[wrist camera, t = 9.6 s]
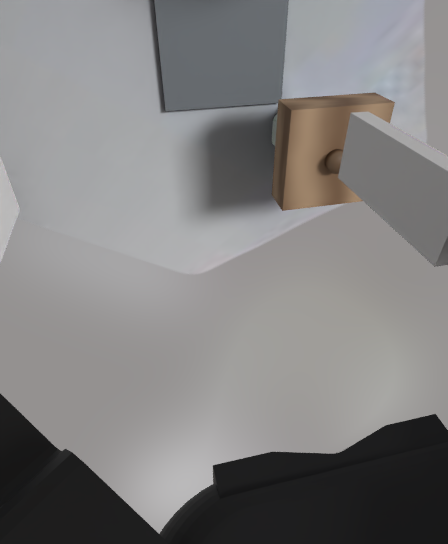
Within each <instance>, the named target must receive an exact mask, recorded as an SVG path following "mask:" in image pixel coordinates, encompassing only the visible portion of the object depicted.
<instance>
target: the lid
mask: <svg viewBox="0 0 448 544" xmlns="http://www.w3.org/2000/svg"><path fill="white" fill-rule="evenodd" d="M394 103H395V102H393V101H391V100H389V99H387V98H385V97H383V96H381V95H378V94H376V93H363V94H349V95H336V96H322V97H308V98H294V99H280V100H278V114H277V128H276V142H275V156H274V171H273V185H272V196H273V197H274V199H275V200H276V202H277V203H278V205H279V206H280V208H281V209H282V211H284V210H292V209H300V208H309V207H317V206H326V205H334V204H342V203H351V202H359V201H363V200H362V199H361V198H359V197H358V196H357V195H356V194H355V193H354V192H353V191H352V190H351V189H350V188H349V187H347V186H346V185H345V184H344V183H343V182H342V181H341V180H340V179H339V178H338V175H339V170H340V165H341V160H342V155H343V150H344V145H345V139H346V134H347V129H348V124H349V119H350V114H351V113H354V112H370V113H372V114H374V115H375V116H377V117H379V118H381V119H383V120H384V121H386V122H388V123H390V120H391V116H392V111H393V107H394Z"/></svg>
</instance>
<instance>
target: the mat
mask: <svg viewBox="0 0 448 544" xmlns="http://www.w3.org/2000/svg"><path fill="white" fill-rule="evenodd" d="M288 1H289V0H154V6H155V16H156V26H157V35H158V45H159V55H160V64H161V74H162V84H163V94H164V103H165V111H176V110H190V109H203V108H216V107H230V106H243V105H256V104H270V103H278V100H280V99H281V97H282V83H283V70H284V56H285V42H286V29H287V15H288Z"/></svg>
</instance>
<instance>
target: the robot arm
mask: <svg viewBox="0 0 448 544" xmlns="http://www.w3.org/2000/svg"><path fill="white" fill-rule="evenodd" d="M338 178H339V179H340V180H341V181H342V182H343V183H344V184H345V185H346V186H347V187H349V188H350V189H351V190H352V191H353V192H354V193H355V194H356V195H357V196H358V197H359V198H361V199H362V200H363V201H364V202H365V203H366V204H367V205H368V206H369V207H370V208H371V209H372V210H374V211H375V212H376V213H377V214H378V215H379V216H380V217H381V218H382V219H383V220H385V221H386V222H387V223H388V224H389V225H390V226H391V227H392V228H393V229H394V230H395V231H396V232H398V233H399V234H400V235H401V236H402V237H403V238H404V239H405V240H406V241H407V242H408V243H410V244H411V245H412V246H413V247H414V248H415V249H416V250H417V251H418V252H419V253H420V254H421V255H423V256H424V257H425V258H426V259H427V260H428V261H429V262H430V263H431V264H432V265H434V266H441V265H448V156H447V155H446V154H444V153H442V152H440V151H438V150H436V149H435V148H433V147H431V146H429V145H428V144H426V143H424V142H422V141H420V140H419V139H417V138H415V137H413V136H411V135H410V134H408V133H406V132H404V131H402V130H401V129H399V128H397V127H395V126H393V125H392V124H390V123H388V122H386V121H384V120H383V119H381V118H379V117H377V116H375V115H374V114H372V113H370V112H354V113H351V114H350V119H349V124H348V129H347V134H346V139H345V145H344V150H343V155H342V160H341V165H340V170H339V175H338ZM19 211H20V209H19V206H18V203H17V200H16V198H15V195H14V192H13V189H12V187H11V184H10V181H9V178H8V175H7V173H6V170H5V167H4V164H3V162H2V159H1V156H0V263H1V260H2V257H3V254H4V252H5V249H6V246H7V244H8V241H9V238H10V236H11V233H12V230H13V227H14V225H15V222H16V219H17V217H18V214H19ZM213 482H214V484H213V485H211V486H209V487H207V488H206V489H204V490H202V491H201V492H199V493H198V494H197V495H195V496H194V497H193V498H191V499H190V500H189V501H188V502H186V503H185V505H183V506H182V507H181V508H180V509H179V510H178V511H177V512H176V513H175V514H174V516H173V517H172V518H171V519H170V520H169V522H168V523H167V524H166V525H165V526H164V528H163V529H162V531H161V532H160V534H158V533H157V532H156V531H155V530H154V529H153V528H152V527H151V526H150V525H149V524H148V523H147V522H146V521H145V520H143V518H142V517H140V516H139V515H138V514H137V513H136V512H135V511H134V510H133V509H132V508H131V507H130V506H129V505H128V504H127V503H126V502H125V501H124V500H123V499H122V498H120V497H119V496H118V495H117V494H116V493H115V492H114V491H113V490H112V489H111V488H110V487H109V486H108V485H107V484H106V483H105V482H104V481H103V480H102V479H100V478H99V477H98V476H97V475H96V474H95V473H94V472H93V471H92V470H91V469H90V468H89V467H88V466H87V465H86V464H84V462H82V461H81V460H80V459H79V458H78V457H77V456H76V455H74V454H73V453H72V452H70V451H68V450H67V449H65V450H63V451H60V450H59V449H57V448H56V447H55V446H54V445H53V444H51V442H50V441H48V439H47V438H46V437H44V436H43V435H42V434H41V433H40V432H39V431H38V430H37V429H36V428H35V427H34V426H33V425H32V424H31V423H30V422H29V421H28V420H27V419H26V418H25V417H24V416H23V415H22V414H21V413H20V412H19V411H18V410H17V409H16V408H15V407H14V406H12V404H11V403H9V402H8V401H7V400H6V399H5V398H4V397H3V396H2V395H1V394H0V544H448V430H447V429H446V428H445V426H444V425H443V424H442V422H441V421H440V419H439V418H438V417H437V415H436V414H433V415H429V416H425V417H420V418H416V419H412V420H408V421H403V422H399V423H394V424H390V425H386V426H384V427H382V428H381V429H379V430H377V431H376V432H374V433H372V434H371V435H369V436H367V437H366V438H364V439H362V440H361V441H359V442H357V443H356V444H354V445H352V446H351V447H349V448H347V449H346V450H344V451H342V452H340V453H336V454H321V453H292V452H270V453H265V454H261V455H256V456H252V457H248V458H243V459H239V460H235V461H230V462H226V463H222V464H217V465H213Z"/></svg>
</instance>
